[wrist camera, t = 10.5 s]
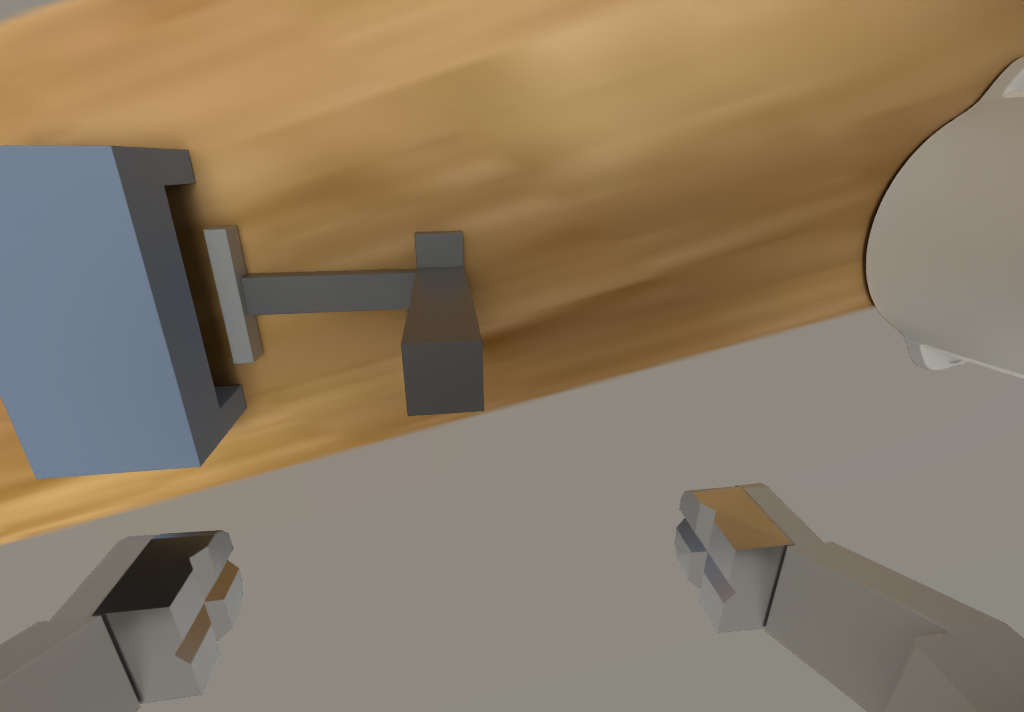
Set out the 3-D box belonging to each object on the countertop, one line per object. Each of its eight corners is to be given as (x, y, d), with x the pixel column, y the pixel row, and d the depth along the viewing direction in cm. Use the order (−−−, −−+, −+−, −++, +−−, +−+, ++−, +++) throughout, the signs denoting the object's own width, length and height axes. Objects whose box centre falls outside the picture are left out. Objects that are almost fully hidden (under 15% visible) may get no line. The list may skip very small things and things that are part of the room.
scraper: (461, 221, 26) (480, 269, 15) (466, 342, 29) (485, 467, 17) (216, 226, 25) (9, 284, 13) (244, 353, 27) (93, 500, 15)
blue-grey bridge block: (188, 150, 24) (110, 145, 18) (246, 408, 29) (200, 466, 23) (26, 149, 23) (-108, 145, 17) (116, 416, 28) (35, 479, 22)
